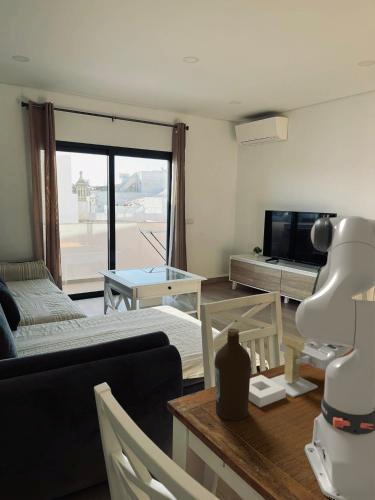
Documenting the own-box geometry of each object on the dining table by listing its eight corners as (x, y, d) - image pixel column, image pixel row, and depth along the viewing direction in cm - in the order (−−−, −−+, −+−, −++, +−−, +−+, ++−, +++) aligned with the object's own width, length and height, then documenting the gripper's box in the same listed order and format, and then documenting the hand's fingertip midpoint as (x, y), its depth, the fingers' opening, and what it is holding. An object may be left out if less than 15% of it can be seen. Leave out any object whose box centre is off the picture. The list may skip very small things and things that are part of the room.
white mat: (317, 387, 121) (317, 385, 121) (292, 397, 114) (292, 395, 114) (290, 373, 131) (290, 372, 131) (265, 381, 124) (265, 380, 124)
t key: (304, 383, 120) (306, 342, 118) (297, 386, 118) (299, 344, 116) (286, 374, 127) (287, 334, 125) (279, 376, 125) (280, 336, 123)
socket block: (285, 397, 114) (285, 388, 114) (259, 407, 109) (259, 398, 108) (261, 383, 124) (261, 374, 123) (236, 391, 118) (236, 382, 118)
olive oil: (248, 403, 111) (250, 324, 108) (251, 423, 101) (253, 337, 98) (214, 401, 112) (215, 323, 109) (213, 421, 102) (214, 335, 99)
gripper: (295, 332, 137) (268, 339, 129) (343, 350, 119) (315, 360, 112) (294, 348, 137) (268, 356, 130) (342, 369, 120) (314, 379, 113)
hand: (290, 358), depth 121 cm, fingers closed on t key, 3 cm apart
